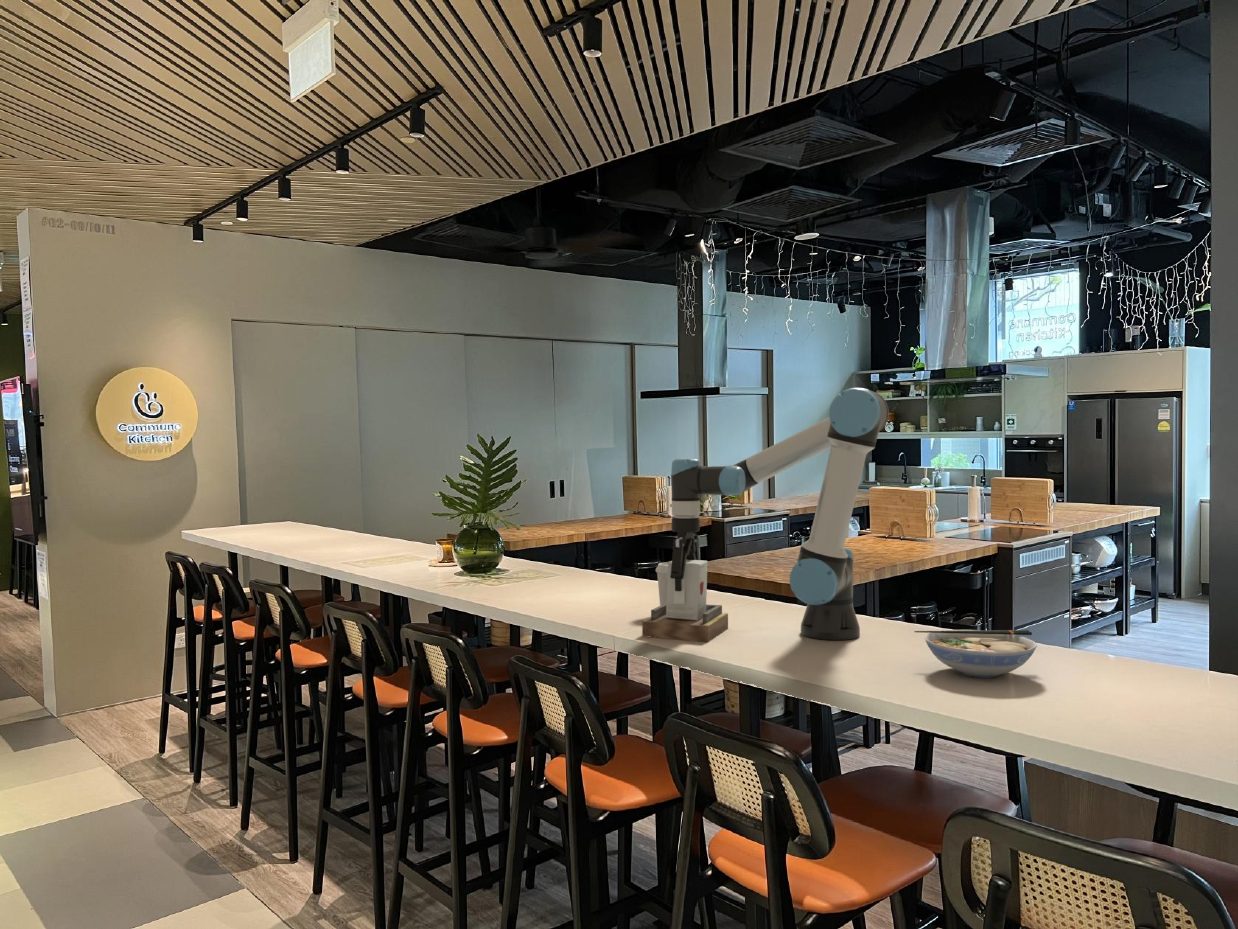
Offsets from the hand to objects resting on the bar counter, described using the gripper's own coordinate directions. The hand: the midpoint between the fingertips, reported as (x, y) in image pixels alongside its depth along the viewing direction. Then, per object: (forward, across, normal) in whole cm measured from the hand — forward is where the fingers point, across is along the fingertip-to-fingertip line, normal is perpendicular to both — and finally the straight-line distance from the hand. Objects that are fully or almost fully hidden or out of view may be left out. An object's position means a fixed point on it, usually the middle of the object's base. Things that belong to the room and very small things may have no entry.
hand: (686, 600), depth 240 cm
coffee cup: (+9, -22, -12) cm, 27 cm away
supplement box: (+5, 0, 0) cm, 5 cm away
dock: (+9, 0, 0) cm, 9 cm away
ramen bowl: (+9, +18, +73) cm, 76 cm away
